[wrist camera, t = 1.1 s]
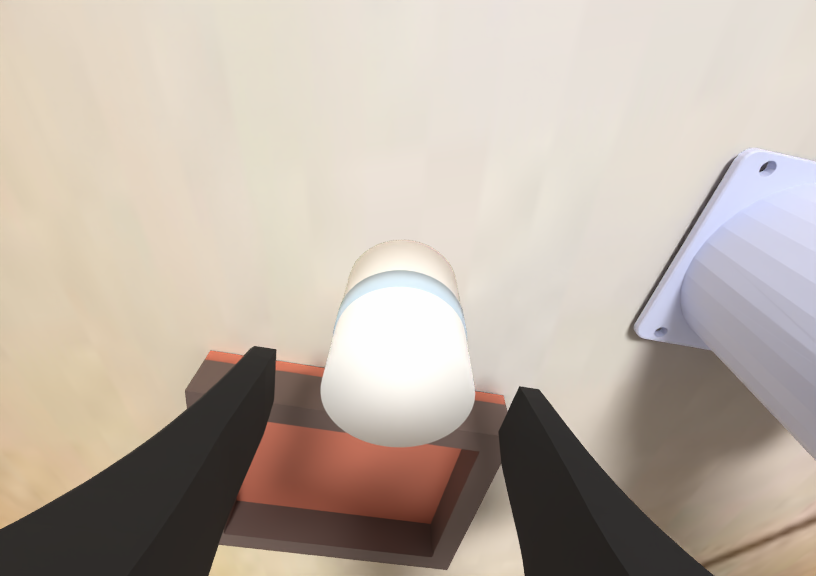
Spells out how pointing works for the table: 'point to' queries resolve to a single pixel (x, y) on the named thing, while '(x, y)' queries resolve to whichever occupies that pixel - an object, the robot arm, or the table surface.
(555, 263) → the table surface
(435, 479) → the lacquer tray
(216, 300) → the table surface
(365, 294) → the blue-banded white capsule
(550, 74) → the table surface
